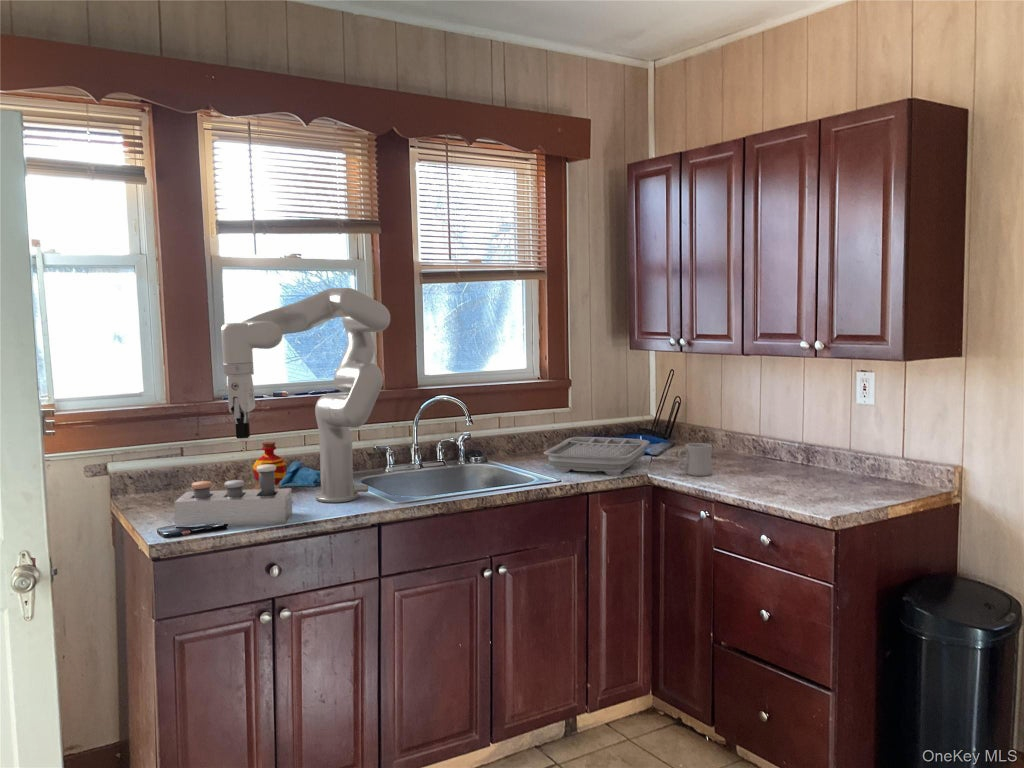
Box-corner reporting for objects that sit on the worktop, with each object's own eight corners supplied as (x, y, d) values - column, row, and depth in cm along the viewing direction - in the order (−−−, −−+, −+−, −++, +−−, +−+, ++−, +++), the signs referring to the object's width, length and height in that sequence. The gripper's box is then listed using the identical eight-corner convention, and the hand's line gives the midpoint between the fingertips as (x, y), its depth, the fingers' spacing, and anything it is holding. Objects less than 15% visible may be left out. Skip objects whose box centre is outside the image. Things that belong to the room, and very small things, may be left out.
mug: (704, 470, 282) (704, 442, 281) (717, 475, 274) (717, 446, 273) (671, 472, 279) (671, 443, 278) (683, 478, 270) (683, 448, 269)
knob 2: (278, 493, 224) (277, 464, 223) (275, 497, 219) (274, 467, 218) (259, 493, 223) (258, 464, 222) (256, 497, 218) (255, 468, 218)
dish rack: (538, 473, 280) (538, 450, 280) (571, 455, 314) (571, 435, 314) (628, 480, 269) (628, 456, 268) (652, 460, 302) (652, 439, 302)
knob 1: (214, 509, 222) (213, 480, 221) (210, 514, 217) (208, 484, 216) (195, 510, 221) (194, 481, 221) (190, 515, 217) (189, 485, 216)
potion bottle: (250, 488, 260) (248, 441, 258) (283, 485, 265) (282, 439, 263) (256, 495, 251) (254, 446, 249) (290, 491, 255) (289, 443, 254)
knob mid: (246, 508, 223) (245, 479, 222) (243, 513, 218) (242, 483, 217) (228, 509, 223) (226, 480, 222) (223, 513, 218) (222, 484, 217)
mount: (292, 512, 228) (291, 488, 228) (285, 523, 216) (284, 497, 216) (187, 516, 225) (186, 491, 224) (175, 528, 213) (174, 501, 212)
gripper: (246, 371, 210) (251, 442, 212) (259, 366, 225) (263, 432, 227) (216, 373, 209) (221, 443, 211) (231, 367, 224) (235, 433, 226)
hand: (243, 437), depth 219 cm, fingers closed
